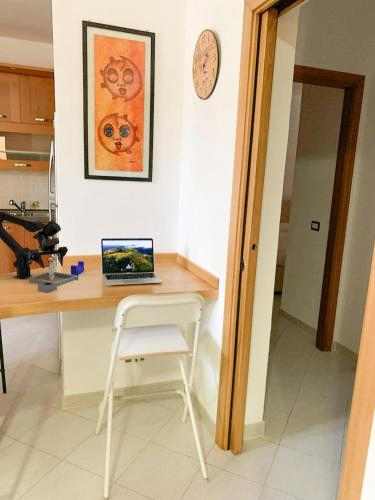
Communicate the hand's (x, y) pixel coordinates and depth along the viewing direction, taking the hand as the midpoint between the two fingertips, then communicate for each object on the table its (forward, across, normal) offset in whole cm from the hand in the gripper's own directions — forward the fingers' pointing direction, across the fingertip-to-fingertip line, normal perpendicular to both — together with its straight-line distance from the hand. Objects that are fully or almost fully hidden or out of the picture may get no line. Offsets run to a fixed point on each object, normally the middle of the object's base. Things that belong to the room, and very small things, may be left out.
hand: (53, 266), depth 188 cm
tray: (+3, +2, +10) cm, 11 cm away
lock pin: (+5, 0, +7) cm, 9 cm away
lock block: (+14, -7, 0) cm, 16 cm away
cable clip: (-4, +19, +18) cm, 27 cm away
